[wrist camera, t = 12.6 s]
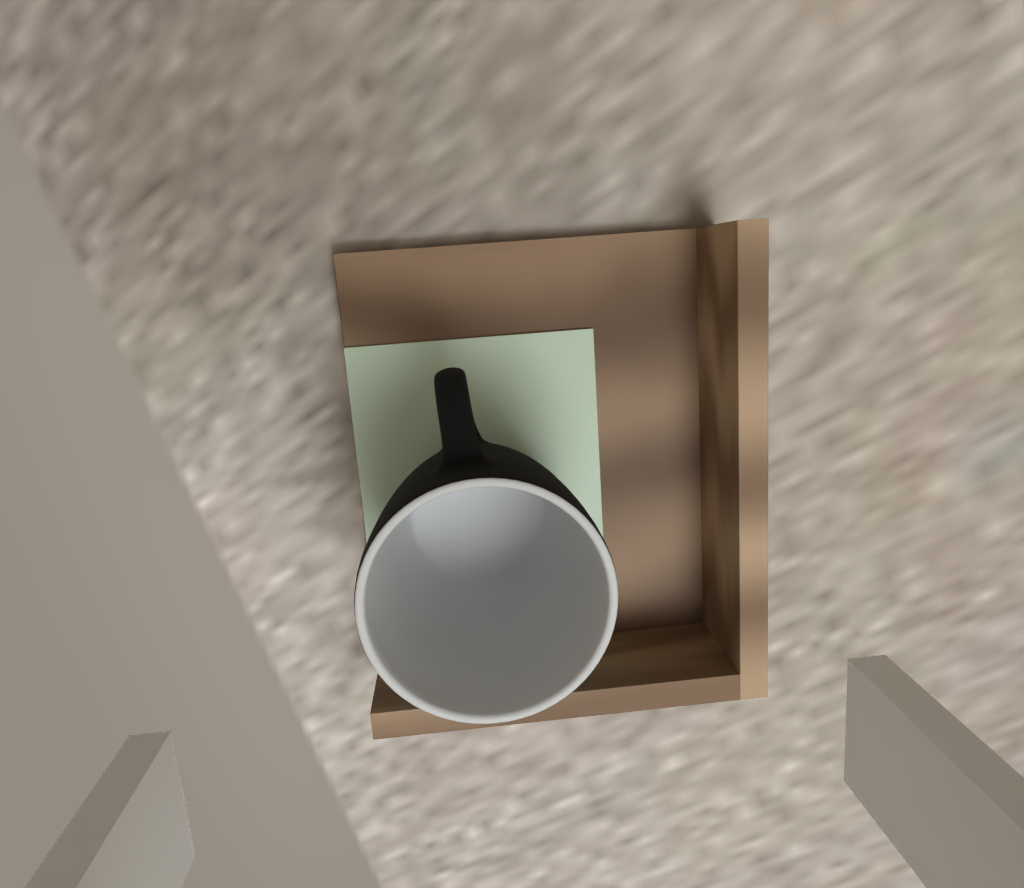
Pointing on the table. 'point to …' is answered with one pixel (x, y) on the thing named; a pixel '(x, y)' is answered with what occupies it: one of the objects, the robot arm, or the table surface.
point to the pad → (477, 407)
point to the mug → (483, 579)
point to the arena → (626, 435)
